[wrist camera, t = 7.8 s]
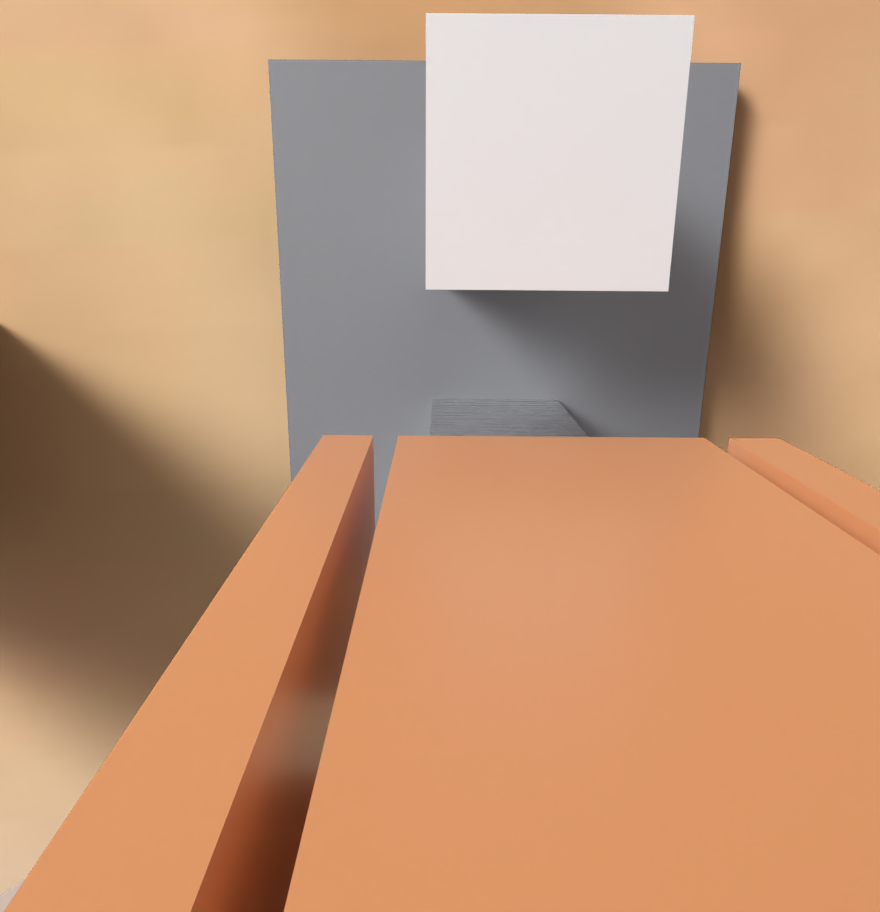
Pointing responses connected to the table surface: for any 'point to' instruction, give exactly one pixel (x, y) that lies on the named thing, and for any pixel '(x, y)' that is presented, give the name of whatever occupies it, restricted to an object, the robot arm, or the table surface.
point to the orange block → (512, 694)
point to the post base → (501, 226)
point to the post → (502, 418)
